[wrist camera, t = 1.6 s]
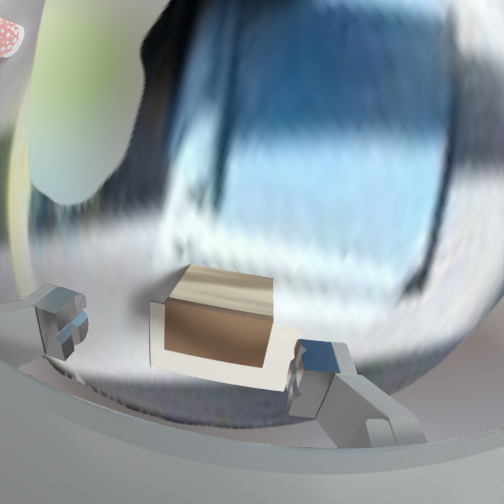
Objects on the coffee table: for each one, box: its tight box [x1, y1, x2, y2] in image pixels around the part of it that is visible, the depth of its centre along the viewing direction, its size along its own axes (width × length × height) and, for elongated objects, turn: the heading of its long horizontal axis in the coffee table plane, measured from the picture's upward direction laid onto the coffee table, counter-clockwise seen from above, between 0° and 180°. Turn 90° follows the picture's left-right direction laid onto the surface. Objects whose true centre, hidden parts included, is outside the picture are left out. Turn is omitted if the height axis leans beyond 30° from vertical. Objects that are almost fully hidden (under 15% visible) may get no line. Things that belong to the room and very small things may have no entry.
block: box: [164, 264, 273, 368], centre depth 26 cm, size 4×8×8 cm, turn 81°
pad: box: [150, 301, 302, 391], centre depth 32 cm, size 9×16×1 cm, turn 81°
